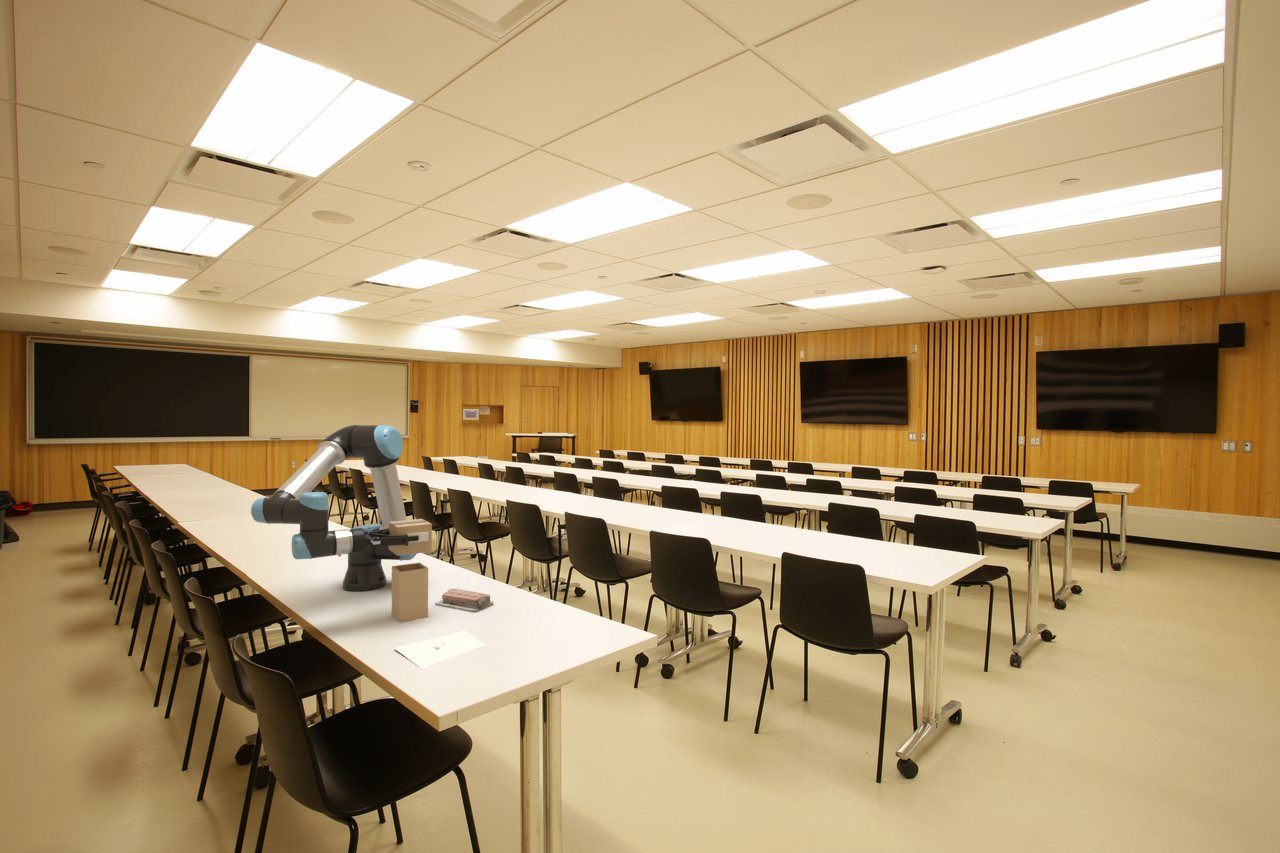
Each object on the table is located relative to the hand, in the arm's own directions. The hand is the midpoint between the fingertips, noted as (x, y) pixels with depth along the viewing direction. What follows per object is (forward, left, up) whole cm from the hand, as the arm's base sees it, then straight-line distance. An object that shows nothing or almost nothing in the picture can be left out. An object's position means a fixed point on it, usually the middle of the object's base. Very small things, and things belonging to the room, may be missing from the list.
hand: (422, 533), depth 197 cm
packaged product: (-1, +15, -27) cm, 31 cm away
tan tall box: (0, -4, -27) cm, 27 cm away
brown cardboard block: (0, -4, -5) cm, 7 cm away
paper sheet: (+39, -4, -27) cm, 48 cm away
